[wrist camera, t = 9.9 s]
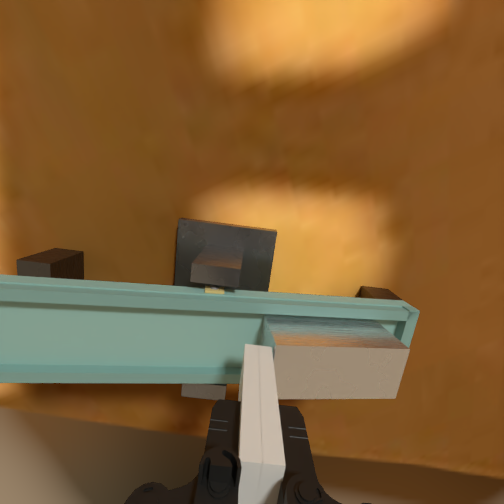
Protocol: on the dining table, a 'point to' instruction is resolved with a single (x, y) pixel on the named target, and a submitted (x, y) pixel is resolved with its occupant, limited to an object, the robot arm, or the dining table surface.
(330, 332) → the block
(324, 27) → the dining table surface
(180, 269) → the stand
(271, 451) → the robot arm
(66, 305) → the beam
